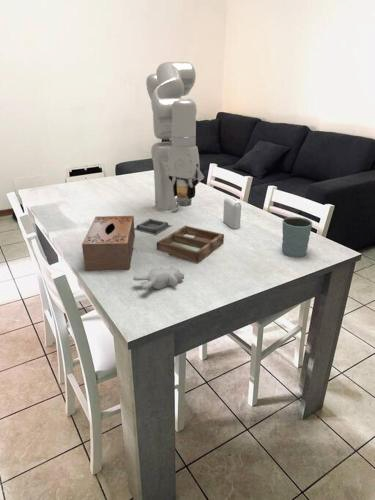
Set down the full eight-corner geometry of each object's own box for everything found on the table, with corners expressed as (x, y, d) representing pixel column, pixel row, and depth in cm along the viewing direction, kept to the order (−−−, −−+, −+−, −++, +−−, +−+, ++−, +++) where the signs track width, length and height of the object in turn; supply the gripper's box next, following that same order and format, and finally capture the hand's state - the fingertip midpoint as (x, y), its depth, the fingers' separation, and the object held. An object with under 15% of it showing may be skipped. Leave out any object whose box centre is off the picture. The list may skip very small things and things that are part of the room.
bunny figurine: (189, 273, 111) (145, 282, 103) (188, 288, 113) (144, 297, 105) (173, 261, 118) (131, 268, 110) (172, 275, 120) (130, 283, 112)
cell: (181, 201, 129) (181, 173, 125) (194, 203, 126) (194, 175, 122) (174, 204, 125) (173, 176, 121) (186, 207, 122) (186, 178, 118)
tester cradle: (149, 222, 161) (149, 217, 160) (172, 227, 155) (172, 222, 154) (132, 231, 152) (132, 225, 150) (155, 237, 146) (155, 231, 145)
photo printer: (221, 221, 162) (222, 194, 156) (230, 220, 163) (231, 193, 158) (232, 229, 153) (233, 201, 148) (241, 228, 154) (243, 200, 149)
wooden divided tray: (185, 234, 149) (185, 225, 147) (223, 243, 141) (223, 234, 139) (157, 252, 134) (156, 242, 132) (198, 263, 125) (198, 253, 124)
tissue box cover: (98, 240, 144) (95, 216, 140) (135, 239, 145) (133, 215, 141) (85, 271, 121) (81, 244, 117) (129, 270, 122) (127, 243, 117)
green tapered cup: (303, 260, 127) (307, 228, 122) (275, 254, 132) (278, 223, 127) (310, 250, 135) (315, 219, 130) (284, 244, 140) (287, 214, 135)
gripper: (155, 141, 118) (157, 195, 126) (201, 145, 110) (200, 203, 118) (168, 138, 124) (169, 190, 131) (213, 142, 116) (211, 197, 123)
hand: (184, 196), depth 124 cm, fingers closed on cell, 5 cm apart
